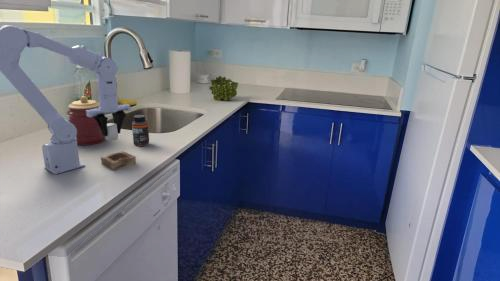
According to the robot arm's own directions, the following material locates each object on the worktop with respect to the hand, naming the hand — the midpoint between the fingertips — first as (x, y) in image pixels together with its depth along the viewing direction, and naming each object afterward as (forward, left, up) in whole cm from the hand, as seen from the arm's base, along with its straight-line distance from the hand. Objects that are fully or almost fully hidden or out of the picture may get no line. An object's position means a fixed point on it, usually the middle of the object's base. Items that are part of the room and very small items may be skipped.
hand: (111, 134), depth 116 cm
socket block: (-2, -7, -8) cm, 11 cm away
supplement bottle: (+15, +6, -9) cm, 18 cm away
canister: (+3, +24, -9) cm, 25 cm away
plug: (0, 0, -2) cm, 2 cm away
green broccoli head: (+99, +45, -9) cm, 109 cm away
